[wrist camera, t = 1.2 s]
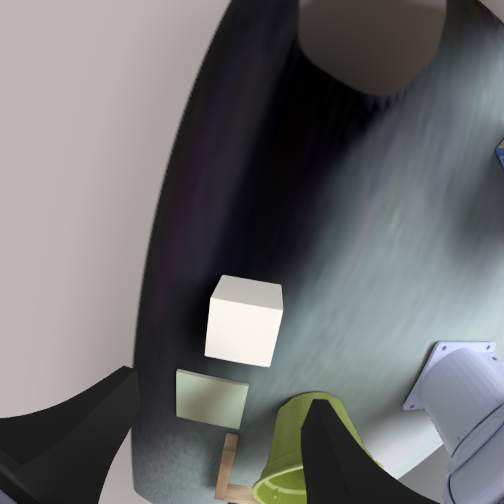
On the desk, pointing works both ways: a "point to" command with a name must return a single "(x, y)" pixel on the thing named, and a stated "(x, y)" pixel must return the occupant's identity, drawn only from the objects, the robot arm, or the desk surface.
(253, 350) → the cream block
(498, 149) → the ink cartridge box
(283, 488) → the plant pot
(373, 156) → the desk surface
